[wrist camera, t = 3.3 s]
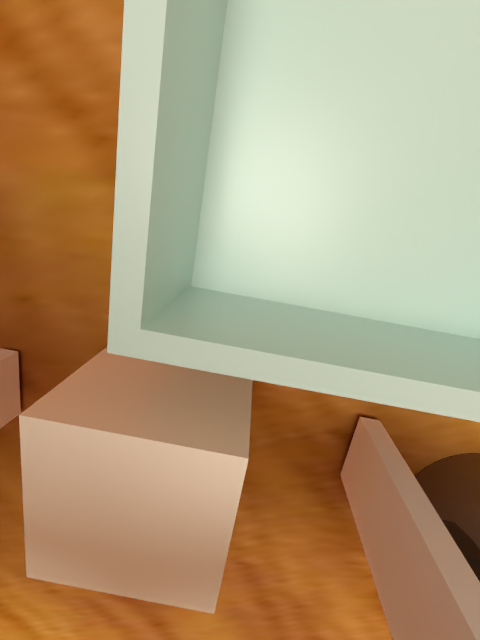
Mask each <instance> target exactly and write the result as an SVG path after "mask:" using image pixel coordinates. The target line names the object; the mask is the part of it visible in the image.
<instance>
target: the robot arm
mask: <svg viewBox="0 0 480 640" xmlns="http://www.w3.org/2000/svg"><path fill="white" fill-rule="evenodd" d="M20 413H21V408H20V383H19V359H18V351H13V350H8V349H2V348H0V429H1V428H2V427H3V426H5V425H6V424H7V423H8V422H10V421H11V420H12V419H14V418H15V417H16V416H18V415H19V414H20ZM340 476H341V479H342V482H343V485H344V488H345V492H346V495H347V498H348V501H349V504H350V507H351V510H352V514H353V517H354V520H355V523H356V526H357V529H358V532H359V536H360V539H361V542H362V545H363V548H364V551H365V554H366V558H367V561H368V564H369V567H370V570H371V573H372V576H373V580H374V583H375V586H376V589H377V592H378V595H379V598H380V602H381V605H382V608H383V611H384V614H385V617H386V620H387V624H388V627H389V630H390V633H391V636H392V639H393V640H480V549H479V548H478V546H477V545H476V543H475V542H474V541H473V540H472V539H471V538H470V537H469V536H468V535H467V534H466V533H465V532H464V531H463V530H462V529H461V528H460V527H459V526H458V525H457V524H456V523H455V522H452V521H447V520H442V519H440V517H439V515H438V514H437V512H436V510H435V509H434V507H433V506H432V504H431V502H430V501H429V499H428V497H427V496H426V494H425V493H424V491H423V489H422V488H421V486H420V484H419V483H418V481H417V480H416V478H415V476H414V475H413V473H412V472H411V470H410V468H409V467H408V465H407V463H406V462H405V460H404V459H403V457H402V455H401V454H400V452H399V450H398V449H397V447H396V446H395V444H394V442H393V441H392V439H391V438H390V436H389V434H388V433H387V431H386V429H385V428H384V426H383V425H382V423H381V421H380V420H375V419H370V418H365V417H359V420H358V423H357V426H356V429H355V432H354V435H353V438H352V441H351V444H350V447H349V450H348V453H347V456H346V459H345V462H344V465H343V468H342V471H341V474H340Z"/></svg>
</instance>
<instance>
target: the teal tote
mask: <svg viewBox="0 0 480 640" xmlns="http://www.w3.org/2000/svg"><path fill="white" fill-rule="evenodd" d="M107 353H111V354H116V355H122V356H127V357H132V358H138V359H143V360H148V361H154V362H159V363H165V364H170V365H175V366H181V367H186V368H191V369H197V370H202V371H208V372H213V373H218V374H224V375H229V376H234V377H240V378H245V379H251V380H256V381H261V382H267V383H272V384H277V385H283V386H288V387H294V388H299V389H304V390H310V391H315V392H320V393H326V394H331V395H337V396H342V397H347V398H353V399H358V400H363V401H369V402H374V403H379V404H385V405H390V406H396V407H401V408H406V409H412V410H417V411H422V412H428V413H433V414H439V415H444V416H449V417H455V418H460V419H465V420H471V421H476V422H480V0H124V17H123V37H122V58H121V79H120V99H119V120H118V140H117V161H116V181H115V202H114V222H113V243H112V263H111V284H110V304H109V325H108V345H107Z"/></svg>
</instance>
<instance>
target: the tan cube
mask: <svg viewBox="0 0 480 640" xmlns="http://www.w3.org/2000/svg"><path fill="white" fill-rule="evenodd" d="M252 383H253V380H251V379H245V378H240V377H234V376H229V375H224V374H218V373H213V372H208V371H202V370H197V369H191V368H186V367H181V366H175V365H170V364H165V363H159V362H154V361H148V360H143V359H138V358H132V357H127V356H122V355H116V354H111V353H107V347H106V348H105V349H103V350H102V351H101V352H99V353H98V354H97V355H96V356H94V357H93V358H92V359H90V360H89V361H88V362H87V363H85V364H84V365H83V366H81V367H80V368H79V369H78V370H76V371H75V372H74V373H72V374H71V375H70V376H69V377H67V378H66V379H65V380H63V381H62V382H61V383H60V384H58V385H57V386H56V387H54V388H53V389H52V390H51V391H49V392H48V393H47V394H45V395H44V396H43V397H42V398H40V399H39V400H38V401H36V402H35V403H34V404H33V405H31V406H30V407H29V408H27V409H26V410H25V411H24V412H22V413H21V414H20V415H19V426H20V448H21V469H22V491H23V513H24V535H25V557H26V577H27V578H32V579H38V580H43V581H48V582H53V583H58V584H63V585H68V586H73V587H78V588H84V589H89V590H94V591H99V592H104V593H109V594H114V595H119V596H124V597H129V598H135V599H140V600H145V601H150V602H155V603H160V604H165V605H170V606H175V607H181V608H186V609H191V610H196V611H201V612H206V613H211V614H214V612H215V608H216V603H217V599H218V594H219V590H220V585H221V581H222V576H223V572H224V567H225V563H226V558H227V554H228V549H229V545H230V540H231V536H232V531H233V527H234V523H235V518H236V514H237V509H238V505H239V500H240V496H241V491H242V487H243V482H244V478H245V473H246V469H247V464H248V460H249V443H250V423H251V403H252Z"/></svg>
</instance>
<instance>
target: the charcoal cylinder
mask: <svg viewBox="0 0 480 640" xmlns="http://www.w3.org/2000/svg"><path fill="white" fill-rule="evenodd" d="M415 478H416V480H417V481H418V483H419V484H420V486H421V488H422V489H423V491H424V493H425V494H426V496H427V497H428V499H429V501H430V502H431V504H432V506H433V507H434V509H435V510H436V512H437V514H438V515H439V517H440V519H442V520H447V521H452V522H455V523H456V524H457V525H458V526H459V527H460V528H461V529H462V530H463V531H464V532H465V533H466V534H467V535H468V536H469V537H470V538H471V539H472V540H473V541H474V542H475V543H476V545H477V546H478V548H479V549H480V454H478V453H469V454H460V455H454V456H451V457H447V458H444V459H441V460H439V461H436V462H434V463H433V464H431V465H429V466H427V467H426V468H424V469H423V470H421V471H420V472H419V473H418V474H417V475H415Z"/></svg>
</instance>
